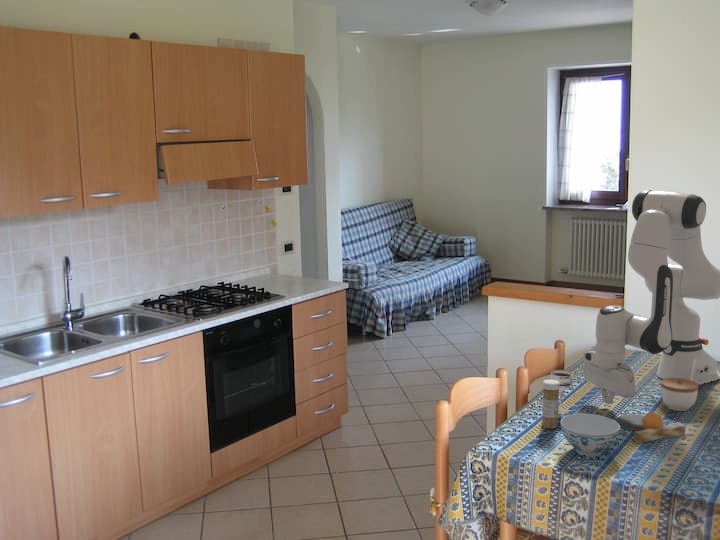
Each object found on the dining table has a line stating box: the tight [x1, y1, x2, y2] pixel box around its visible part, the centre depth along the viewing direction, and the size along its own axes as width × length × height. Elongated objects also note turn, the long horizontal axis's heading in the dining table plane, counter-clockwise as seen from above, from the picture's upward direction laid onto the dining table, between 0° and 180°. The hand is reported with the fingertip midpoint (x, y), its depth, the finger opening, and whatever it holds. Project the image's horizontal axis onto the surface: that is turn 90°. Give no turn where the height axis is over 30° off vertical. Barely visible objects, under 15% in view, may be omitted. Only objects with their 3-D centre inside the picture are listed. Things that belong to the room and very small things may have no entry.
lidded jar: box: [660, 378, 700, 412], centre depth 236 cm, size 11×11×9 cm
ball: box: [642, 412, 664, 430], centre depth 217 cm, size 6×6×6 cm
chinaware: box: [560, 413, 621, 457], centre depth 204 cm, size 15×15×8 cm
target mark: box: [614, 414, 645, 432], centre depth 224 cm, size 13×13×1 cm
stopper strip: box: [633, 422, 686, 444], centre depth 213 cm, size 16×2×2 cm, turn 111°
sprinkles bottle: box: [541, 378, 560, 429], centre depth 221 cm, size 5×5×14 cm
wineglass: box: [549, 369, 574, 415], centre depth 233 cm, size 7×7×12 cm
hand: (607, 402), depth 236 cm, fingers closed
